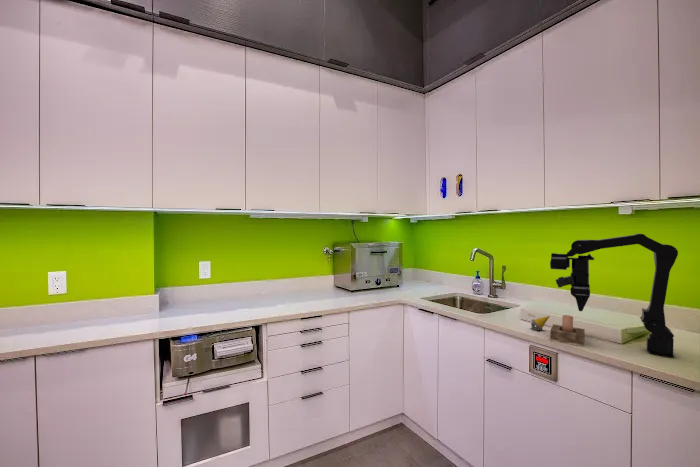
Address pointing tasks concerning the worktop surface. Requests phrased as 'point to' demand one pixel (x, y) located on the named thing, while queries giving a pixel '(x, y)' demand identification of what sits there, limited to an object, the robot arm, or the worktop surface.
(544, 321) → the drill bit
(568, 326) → the peg
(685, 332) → the worktop surface
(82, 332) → the worktop surface
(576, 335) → the hole block
